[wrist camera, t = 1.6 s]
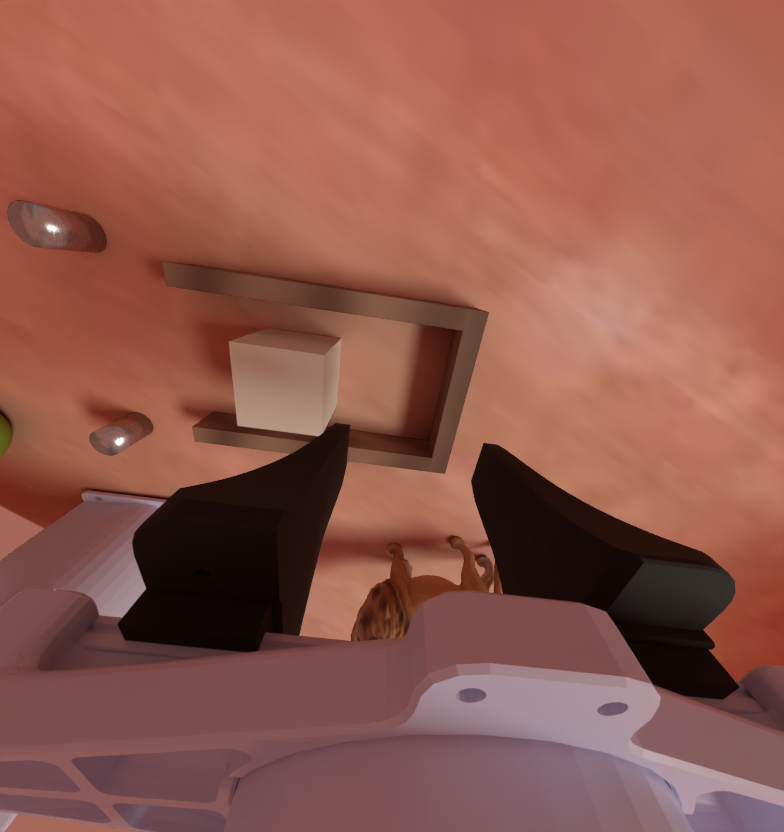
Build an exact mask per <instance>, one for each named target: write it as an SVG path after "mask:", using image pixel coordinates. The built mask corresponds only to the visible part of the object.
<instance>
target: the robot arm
mask: <svg viewBox="0 0 784 832" xmlns="http://www.w3.org/2000/svg"><path fill="white" fill-rule="evenodd" d="M349 432H350V425H346V424H339V423H335V424H334V425H333V426H331V427H330V428H328V429H327V430H326V431H325V432H323V433H322V434H321V435H319V436H318V437H317V438H315V439H314V440H312V441H311V442H310V443H308V444H306V445H305V446H303V447H302V448H300V449H298V450H297V451H295V452H293V453H292V454H290V455H288V456H286V457H284V458H282V459H280V460H277V461H275V462H273V463H271V464H268V465H265V466H263V467H260V468H258V469H255V470H252V471H250V472H246V473H243V474H240V475H237V476H233V477H230V478H226V479H222V480H218V481H214V482H209V483H205V484H200V485H195V486H190V487H185V488H180V489H179V490H178V491H176V492H175V493H174V494H173V495H172V496H171V497H170V498H169V499H168V500H165V499H156V498H148V497H140V496H131V495H123V494H115V493H106V492H98V491H90V490H87V491H85V492H83V493H82V494H81V497H82V499H83V501H84V502H82V503H81V504H80V505H78V506H77V507H75V508H74V509H72V510H71V511H70V512H68V513H67V514H65V515H64V516H62V517H61V518H60V519H58V520H57V521H55V522H54V523H52V524H51V525H50V526H48V527H47V528H45V529H44V530H42V531H41V532H40V533H38V534H37V535H35V536H34V537H32V538H31V539H30V540H28V541H27V542H25V543H24V544H22V545H21V546H20V547H18V548H17V549H15V550H14V551H13V552H11V553H10V554H8V555H7V556H6V557H5V558H3V559H2V560H1V561H0V832H4V831H5V830H6V829H7V827H8V826H9V825H10V823H11V822H12V821H13V820H14V818H15V817H16V815H17V814H23V815H32V816H39V817H46V818H53V819H60V820H67V821H74V822H81V823H87V824H93V825H100V826H106V827H113V828H119V829H126V830H133V831H139V832H784V666H778V665H762V666H758V667H755V668H753V669H752V670H750V671H748V672H747V673H746V674H745V675H744V676H743V677H742V678H741V681H735V680H734V679H733V678H732V677H731V676H730V675H729V673H728V672H727V671H726V670H725V669H724V668H723V666H722V665H721V664H720V663H719V662H718V660H717V659H716V658H715V657H714V656H713V655H712V653H711V652H710V651H709V650H708V649H711V650H712V649H713V648H714V647H715V644H714V642H713V641H712V639H711V638H710V637H709V636H708V635H707V634H706V633H705V632H704V630H703V629H704V628H705V627H706V626H708V625H709V624H710V623H711V622H712V621H713V620H714V619H715V618H716V617H717V616H718V615H719V614H720V613H721V612H722V611H724V610H725V609H726V607H727V606H728V605H729V604H730V603H731V601H732V599H733V597H734V594H735V581H734V580H733V578H732V577H731V576H730V574H729V573H728V572H726V571H725V570H724V569H723V568H722V567H721V566H720V565H718V564H717V563H716V562H715V561H714V560H713V559H712V558H711V557H709V556H708V555H706V554H705V553H703V552H701V551H698V550H695V549H693V548H690V547H687V546H684V545H682V544H679V543H676V542H673V541H670V540H668V539H665V538H662V537H659V536H657V535H654V534H652V533H649V532H647V531H645V530H642V529H640V528H637V527H635V526H633V525H630V524H628V523H626V522H623V521H621V520H619V519H617V518H615V517H613V516H611V515H608V514H606V513H604V512H602V511H600V510H598V509H596V508H594V507H592V506H590V505H589V504H587V503H585V502H583V501H581V500H579V499H578V498H576V497H574V496H572V495H571V494H569V493H567V492H566V491H564V490H562V489H561V488H559V487H558V486H556V485H555V484H553V483H552V482H550V481H548V480H547V479H545V478H544V477H543V476H541V475H540V474H538V473H537V472H535V471H534V470H533V469H531V468H530V467H529V466H527V465H526V464H524V463H523V462H522V461H520V460H519V459H518V458H516V457H515V456H514V455H512V454H511V453H509V452H508V451H507V450H505V449H504V448H502V447H500V446H499V445H495V444H487V443H483V447H482V450H481V453H480V456H479V459H478V462H477V465H476V468H475V471H474V474H473V477H472V480H471V483H472V488H473V494H474V498H475V503H476V506H477V508H478V511H479V514H480V517H481V520H482V523H483V526H484V528H485V531H486V534H487V537H488V540H489V542H490V545H491V548H492V551H493V554H494V558H495V561H496V566H497V570H498V574H499V578H500V582H501V587H502V592H503V594H498V593H489V592H480V591H471V590H468V591H451V592H444V593H442V594H440V595H437V596H435V597H433V598H430V599H428V600H426V601H425V602H424V603H423V604H422V605H421V606H420V608H419V609H418V610H417V612H416V613H415V614H414V615H413V617H412V618H411V622H410V625H409V629H408V632H407V635H406V637H399V638H389V639H379V640H368V641H358V642H355V641H345V640H335V639H326V638H316V637H306V636H299V634H300V630H301V625H302V621H303V617H304V613H305V608H306V604H307V600H308V596H309V592H310V587H311V583H312V579H313V575H314V571H315V567H316V563H317V559H318V555H319V551H320V547H321V544H322V540H323V536H324V533H325V530H326V527H327V524H328V522H329V519H330V516H331V514H332V511H333V508H334V506H335V503H336V500H337V497H338V495H339V492H340V489H341V486H342V483H343V479H344V475H345V470H346V466H347V455H348V444H349Z"/></svg>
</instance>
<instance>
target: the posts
mask: <svg viewBox="0 0 784 832" xmlns="http://www.w3.org/2000/svg"><path fill="white" fill-rule="evenodd" d="M7 213H8V219H9V222H10V224H11V226H12V228H13V230H14V231H15V233H16V234H17V235H18V236H19V237H20V238H21V239H22V240H23V241H25V242H26V243H28V244H29V245H32V246H34V247H39V248H50V249H60V250H71V251H81V252H91V253H99V252H101V251H103V250H104V248H105V246H106V236H105V233H104V231H103V229H102V227H101V226H100V225H99V223H98V222H97V221H96V220H95V219H93V218H92V217H90V216H88V215H86V214H81V213H77V212H72V211H67V210H63V209H58V208H54V207H49V206H44V205H40V204H35V203H30V202H26V201H20V200H17V201H14V202H12V203H11V204H10V205H9V207H8V212H7ZM152 431H153V424H152V422H151V421H150V420H149V419H148V418H147V417H146V416H144V415H142V414H140V413H131V414H129V415H127V416H125V417H123V418H121V419H119V420H117V421H115V422H113V423H111V424H109V425H107V426H105V427H103V428H101V429H99V430H96V431H94V432H93V433H91V434H90V437H89V439H90V443H91V444H92V446H93V447H94V448H95V449H96V450H97V451H99V452H100V453H102V454H105V455H110V456H113V455H116V454H118V453H120V452H121V451H123V450H124V449H126V448H128V447H129V446H131V445H133V444H134V443H136V442H138V441H139V440H141V439H142V438H144V437H146V436H147V435H149V434H151V433H152Z"/></svg>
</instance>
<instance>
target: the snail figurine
mask: <svg viewBox="0 0 784 832" xmlns="http://www.w3.org/2000/svg"><path fill="white" fill-rule="evenodd" d="M11 441H12V429H11V427H10V425H9V423H8V422H7V420H6V419H5V418H4V417H3V416H2V415H0V457H1V456H2V455H3V454H4V453H5V452H6V451H7V449H8V448H9V446H10V444H11Z"/></svg>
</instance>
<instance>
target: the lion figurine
mask: <svg viewBox="0 0 784 832" xmlns="http://www.w3.org/2000/svg"><path fill="white" fill-rule="evenodd" d="M450 545H451V547H452V548H454V549H459V550H460V551H461V552H462V554H463V557H464V563H463V567H462V572H461V584H460V585H455V584H454V583H452V582H450V581H449V580H447V579H445V578H442V577H439V576H432V575H424V576H418V577H414V578H412V566H411V565H410V563H409V562H408V561H404V559H403V557H404V555H403V552H402V550H401V547H400V546H399V545H397V544H395V543H392V544H390V545H389V547H388V551H389V553H390V554H393V555H394V558H393V562H392V566H391V574H390V579H386V580H385V581H384V582H381V583H378V584H376V585H375V587H374V588H372V589H371V590H370V592H369V594H368V596H367V599H366V600H365V602H364V604H363V606H362V607H361V608H360V610H359V612H358V615H357V620H356V622H355V624H354V627H353V630H352V633H351V641H355V642H358V641H368V640H379V639H389V638H399V637H406V635H407V632H408V629H409V625H410V622H411V618H412V617H413V615H414V614H415V613H416V612H417V610H418V609H419V608H420V606H421V605H422V604H423V603H424V602H425V601H426V600H428V599H430V598H433V597H435V596H437V595H440V594H442V593H444V592H451V591H468V590H471V591H480V592H489V589H490V587H491V585H492V584H493V583H494V593H498V594H502V587H501V582H500V578H499V574H498V570H497V566H496V561H495V566H494V571H493V564H492V562H491V560H490V559H489V558H487V557H480V558H478V560H477V564H478V565H479V566H480V567H484V568H485V572H484V574H483V575H482V576H481V577H480V576H479V574H478V572H477V570H476V568H475V557H474V555H473V553H472V552H471V551H470V550H469V549H468V547H467V546H466V544H465V543H464V541H463V540H462V539H460V538H458V537H454V538H452V539H451V540H450Z"/></svg>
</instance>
